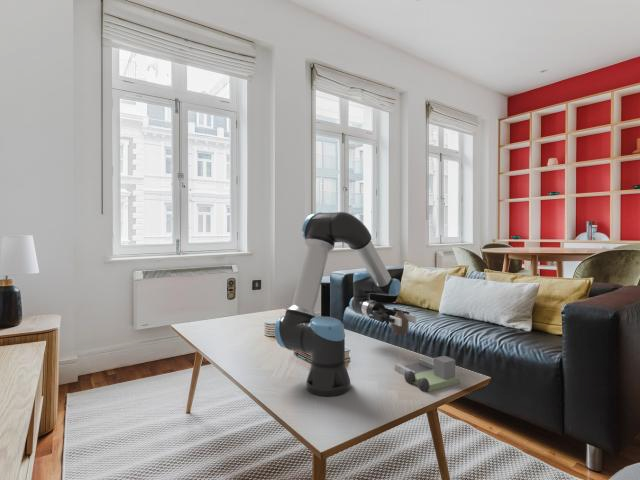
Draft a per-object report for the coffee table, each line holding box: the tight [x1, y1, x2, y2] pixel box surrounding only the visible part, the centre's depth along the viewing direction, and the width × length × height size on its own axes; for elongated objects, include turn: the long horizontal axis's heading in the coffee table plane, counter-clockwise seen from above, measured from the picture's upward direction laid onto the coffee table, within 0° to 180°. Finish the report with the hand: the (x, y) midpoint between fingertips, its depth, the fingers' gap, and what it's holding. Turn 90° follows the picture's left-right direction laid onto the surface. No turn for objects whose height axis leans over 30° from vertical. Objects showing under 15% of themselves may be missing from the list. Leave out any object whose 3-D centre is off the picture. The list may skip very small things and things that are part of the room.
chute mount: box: [394, 357, 434, 376], centre depth 145 cm, size 10×13×2 cm
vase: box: [390, 310, 410, 336], centre depth 154 cm, size 7×7×9 cm
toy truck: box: [403, 355, 461, 392], centre depth 135 cm, size 11×16×8 cm
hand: (408, 321), depth 150 cm, fingers closed on vase, 6 cm apart
